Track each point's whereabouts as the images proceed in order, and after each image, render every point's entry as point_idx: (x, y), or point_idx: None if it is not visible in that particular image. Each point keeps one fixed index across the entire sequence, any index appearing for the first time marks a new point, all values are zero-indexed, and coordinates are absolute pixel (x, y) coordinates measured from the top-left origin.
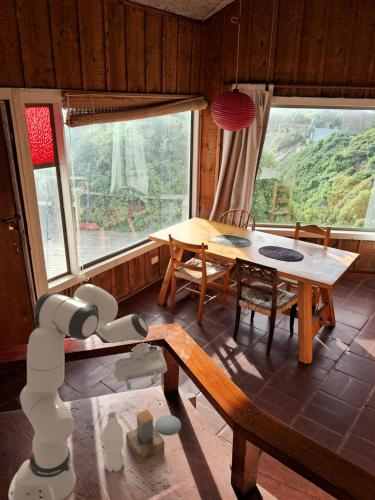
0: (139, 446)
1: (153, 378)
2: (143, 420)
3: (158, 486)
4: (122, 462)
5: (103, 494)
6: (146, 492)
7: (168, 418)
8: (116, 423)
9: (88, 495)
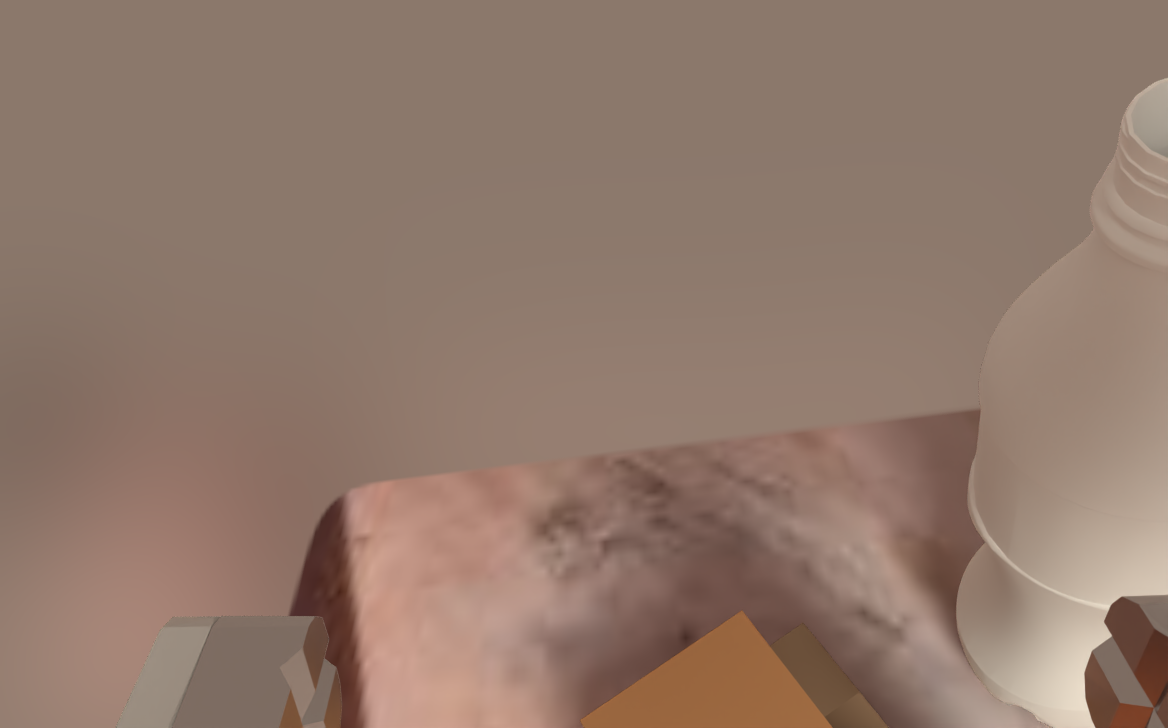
0: None
1: (172, 721)
2: (723, 631)
3: (619, 514)
4: (961, 589)
5: None
6: (704, 462)
7: None
8: (1090, 242)
9: None
